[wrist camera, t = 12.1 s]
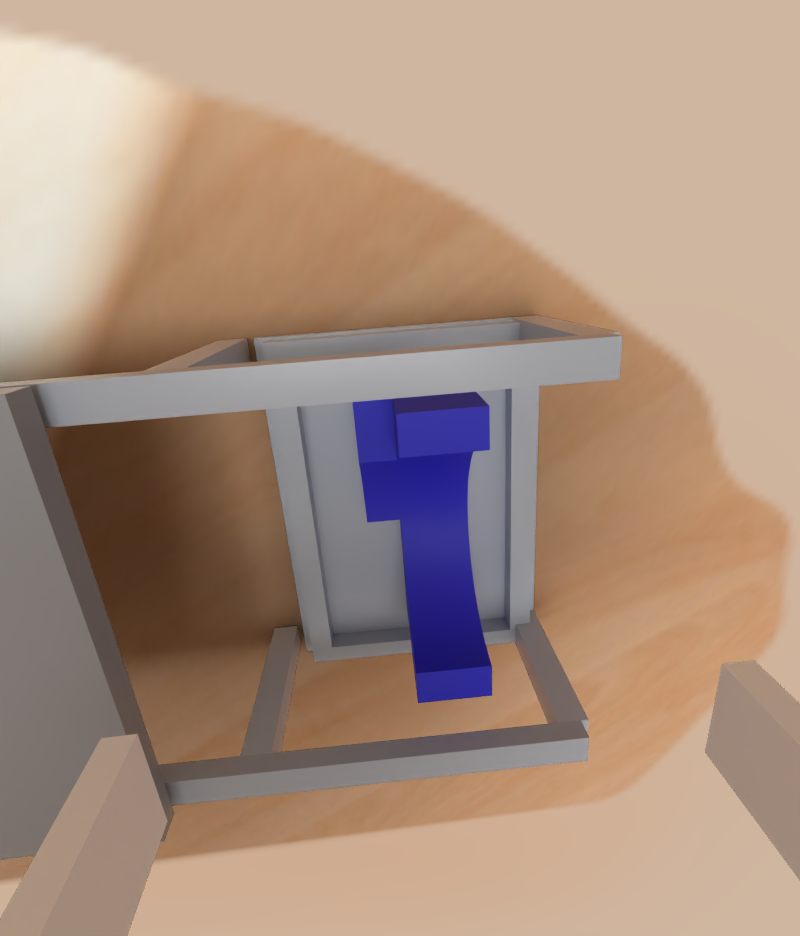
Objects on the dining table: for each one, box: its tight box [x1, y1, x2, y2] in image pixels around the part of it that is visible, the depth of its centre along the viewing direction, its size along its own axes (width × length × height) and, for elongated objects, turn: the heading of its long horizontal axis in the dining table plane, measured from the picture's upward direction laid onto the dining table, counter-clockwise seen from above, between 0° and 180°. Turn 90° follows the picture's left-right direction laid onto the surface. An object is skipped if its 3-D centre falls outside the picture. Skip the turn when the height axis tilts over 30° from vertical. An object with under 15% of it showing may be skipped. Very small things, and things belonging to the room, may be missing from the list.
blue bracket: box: [352, 392, 492, 703], centre depth 21 cm, size 12×4×6 cm, turn 4°
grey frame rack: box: [0, 315, 623, 806], centre depth 20 cm, size 26×16×8 cm, turn 94°
